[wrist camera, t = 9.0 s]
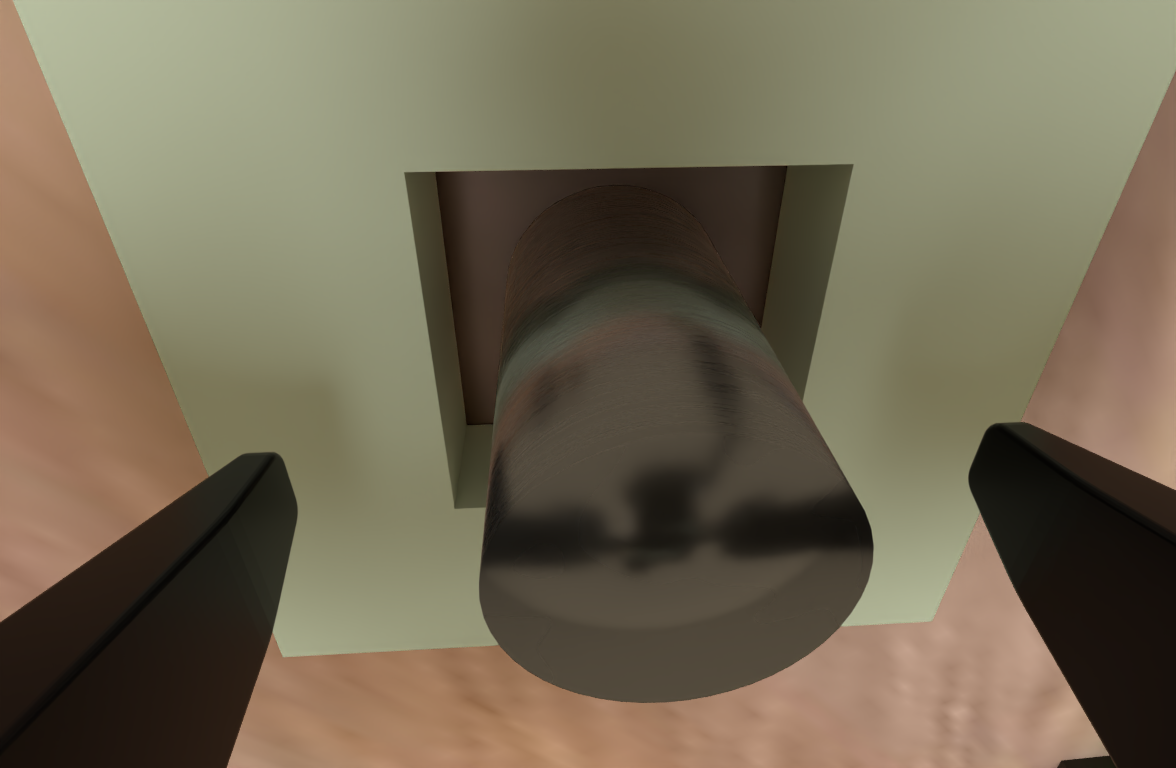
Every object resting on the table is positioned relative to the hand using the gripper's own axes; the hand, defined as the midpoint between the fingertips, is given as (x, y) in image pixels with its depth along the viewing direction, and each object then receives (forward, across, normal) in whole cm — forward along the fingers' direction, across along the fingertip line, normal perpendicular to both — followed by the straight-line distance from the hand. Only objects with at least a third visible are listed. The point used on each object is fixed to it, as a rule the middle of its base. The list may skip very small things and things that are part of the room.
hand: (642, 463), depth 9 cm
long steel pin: (+5, 0, 0) cm, 5 cm away
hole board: (+5, 0, 0) cm, 5 cm away
